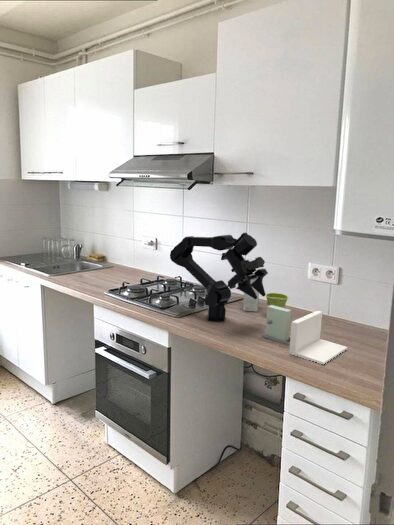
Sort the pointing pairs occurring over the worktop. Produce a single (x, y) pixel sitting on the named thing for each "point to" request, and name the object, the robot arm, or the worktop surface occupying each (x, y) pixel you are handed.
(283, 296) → the plant pot
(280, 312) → the door
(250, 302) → the skincare box
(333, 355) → the white l-shaped stand
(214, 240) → the robot arm
